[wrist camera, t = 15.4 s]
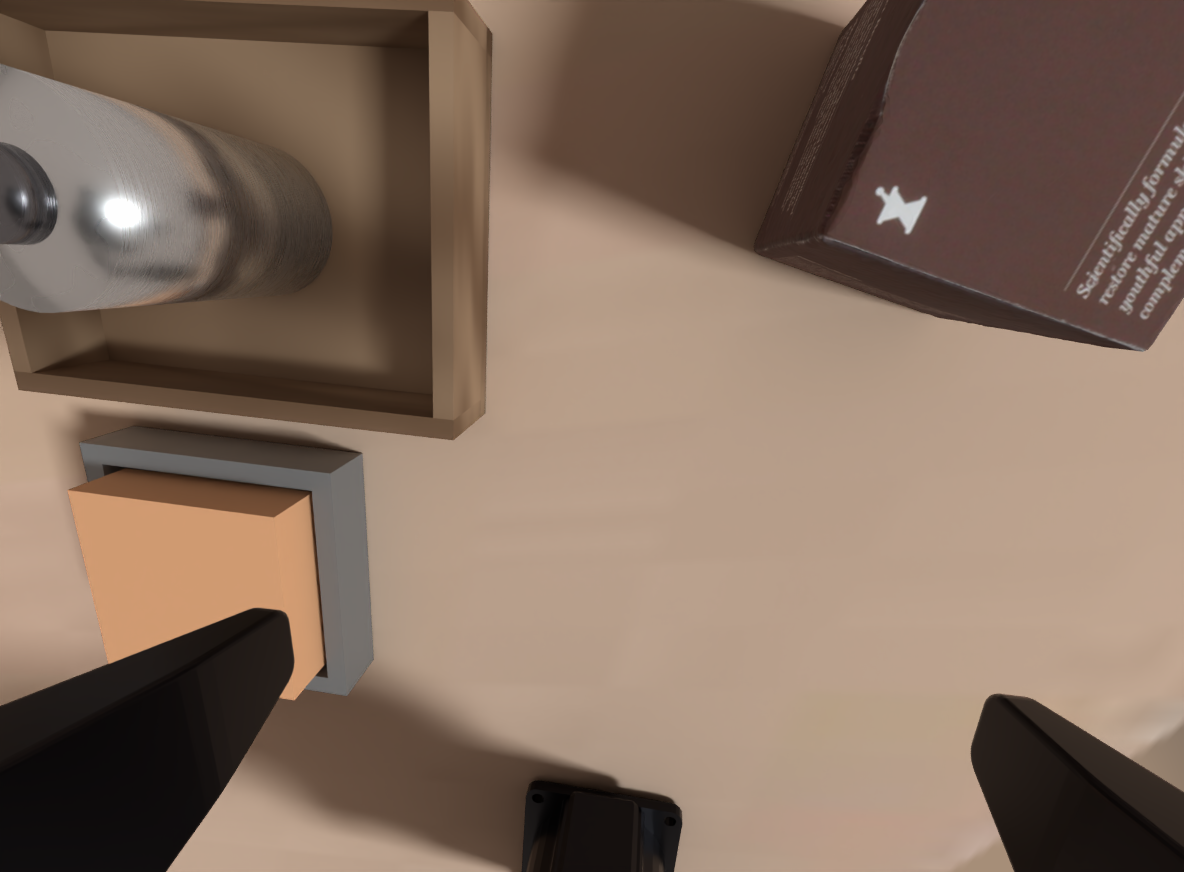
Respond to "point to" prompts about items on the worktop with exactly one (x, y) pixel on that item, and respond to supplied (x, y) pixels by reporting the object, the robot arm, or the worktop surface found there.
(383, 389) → the tray
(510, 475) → the worktop surface
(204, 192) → the cylinder
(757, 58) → the worktop surface
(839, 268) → the box
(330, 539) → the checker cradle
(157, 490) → the pad
